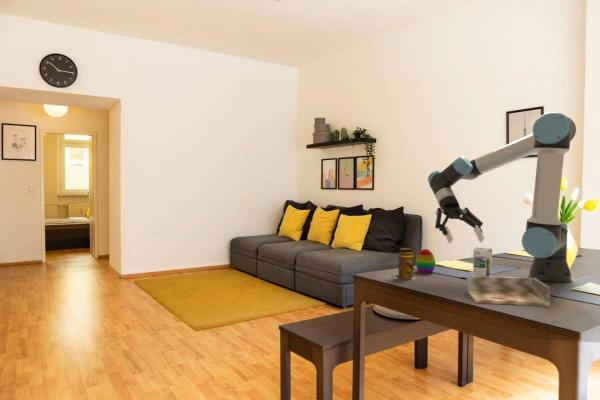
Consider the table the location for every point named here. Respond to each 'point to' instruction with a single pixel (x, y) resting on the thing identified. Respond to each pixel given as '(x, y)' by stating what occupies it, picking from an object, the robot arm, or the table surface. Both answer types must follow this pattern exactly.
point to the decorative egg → (425, 261)
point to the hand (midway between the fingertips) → (466, 240)
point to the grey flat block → (508, 290)
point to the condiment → (405, 264)
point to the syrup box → (482, 261)
